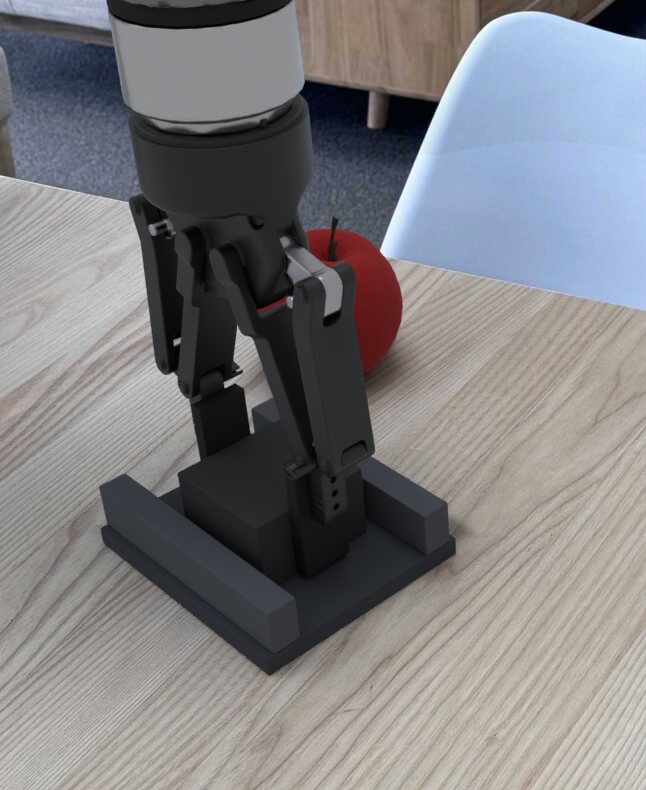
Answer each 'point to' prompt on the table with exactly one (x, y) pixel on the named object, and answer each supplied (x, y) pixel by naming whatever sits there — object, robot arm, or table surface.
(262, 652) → the base pad
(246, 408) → the robot arm
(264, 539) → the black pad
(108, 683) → the table surface
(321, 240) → the apple
